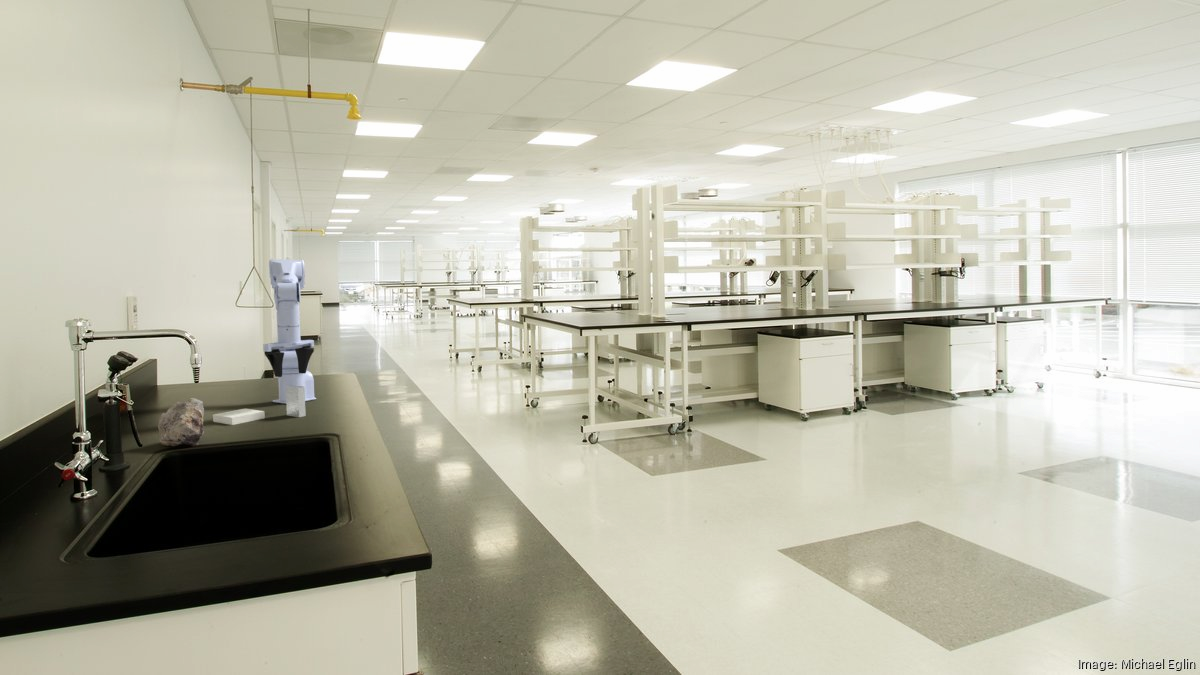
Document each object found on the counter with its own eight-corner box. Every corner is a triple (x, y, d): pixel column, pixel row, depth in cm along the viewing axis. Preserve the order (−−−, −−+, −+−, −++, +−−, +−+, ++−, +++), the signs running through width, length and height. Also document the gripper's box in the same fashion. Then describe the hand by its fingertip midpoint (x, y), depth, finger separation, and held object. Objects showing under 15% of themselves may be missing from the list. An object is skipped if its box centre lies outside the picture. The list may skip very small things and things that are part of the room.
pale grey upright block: (293, 414, 178) (292, 385, 177) (305, 415, 176) (304, 386, 175) (286, 415, 176) (285, 386, 176) (299, 417, 174) (298, 387, 173)
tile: (245, 408, 176) (212, 414, 168) (264, 411, 173) (232, 417, 165) (245, 416, 176) (213, 423, 168) (264, 419, 173) (232, 426, 165)
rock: (155, 460, 143) (159, 431, 137) (156, 419, 150) (160, 390, 144) (203, 458, 148) (209, 430, 143) (202, 419, 155) (208, 391, 150)
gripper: (274, 328, 171) (276, 379, 172) (320, 325, 184) (322, 372, 185) (257, 327, 174) (259, 377, 175) (303, 324, 187) (305, 370, 188)
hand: (290, 374), depth 180 cm, fingers open, 7 cm apart
